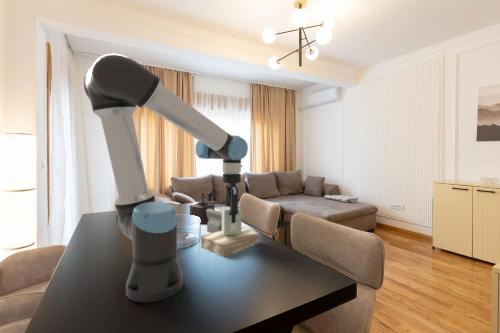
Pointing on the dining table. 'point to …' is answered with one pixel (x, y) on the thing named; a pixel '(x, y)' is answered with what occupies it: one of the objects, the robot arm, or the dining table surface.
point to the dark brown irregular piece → (202, 208)
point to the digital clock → (214, 220)
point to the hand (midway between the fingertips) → (231, 227)
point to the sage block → (227, 221)
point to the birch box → (229, 242)
